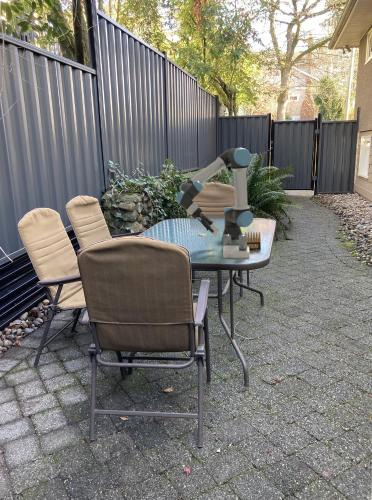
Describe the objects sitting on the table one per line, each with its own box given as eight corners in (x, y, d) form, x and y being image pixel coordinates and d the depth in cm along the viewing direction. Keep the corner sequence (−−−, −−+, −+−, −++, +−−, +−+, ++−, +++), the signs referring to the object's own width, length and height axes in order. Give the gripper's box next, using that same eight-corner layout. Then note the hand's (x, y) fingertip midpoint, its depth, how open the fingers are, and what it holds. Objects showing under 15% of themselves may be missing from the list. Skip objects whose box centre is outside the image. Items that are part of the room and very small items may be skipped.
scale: (223, 251, 251) (223, 245, 250) (248, 251, 248) (248, 245, 247) (222, 258, 235) (222, 251, 234) (249, 258, 232) (249, 251, 231)
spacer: (223, 247, 261) (223, 234, 259) (231, 247, 260) (231, 234, 258) (223, 249, 256) (223, 235, 254) (231, 249, 255) (230, 235, 253)
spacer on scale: (238, 248, 239) (238, 234, 237) (246, 248, 239) (246, 234, 236) (238, 250, 234) (238, 236, 232) (247, 250, 234) (247, 236, 232)
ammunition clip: (260, 249, 253) (260, 231, 250) (260, 249, 251) (261, 231, 248) (244, 249, 253) (244, 231, 250) (244, 250, 251) (244, 232, 248)
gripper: (193, 212, 267) (214, 233, 269) (188, 218, 243) (212, 241, 245) (200, 204, 265) (222, 225, 267) (196, 209, 241) (220, 233, 243)
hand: (217, 233), depth 256 cm, fingers open, 13 cm apart
